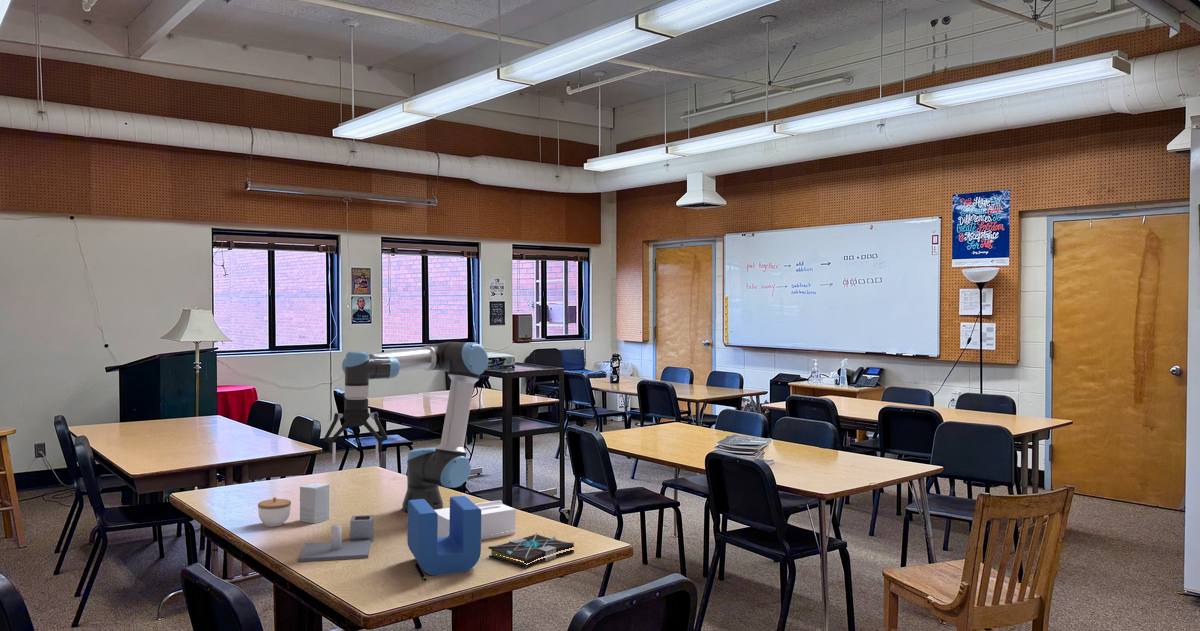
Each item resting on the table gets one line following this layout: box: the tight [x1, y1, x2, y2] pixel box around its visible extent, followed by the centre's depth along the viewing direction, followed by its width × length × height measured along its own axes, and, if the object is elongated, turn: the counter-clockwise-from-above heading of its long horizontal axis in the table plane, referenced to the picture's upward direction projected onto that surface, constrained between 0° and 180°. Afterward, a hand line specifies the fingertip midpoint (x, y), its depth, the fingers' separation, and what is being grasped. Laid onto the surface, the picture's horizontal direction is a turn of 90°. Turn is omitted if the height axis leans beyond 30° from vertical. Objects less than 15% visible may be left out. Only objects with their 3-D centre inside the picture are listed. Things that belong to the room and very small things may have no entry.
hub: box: [349, 514, 375, 543], centre depth 260 cm, size 7×7×7 cm
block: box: [406, 495, 482, 576], centre depth 234 cm, size 18×18×18 cm
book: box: [487, 532, 575, 569], centre depth 245 cm, size 22×17×5 cm
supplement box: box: [299, 482, 330, 524], centre depth 283 cm, size 7×7×13 cm
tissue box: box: [435, 499, 517, 541], centre depth 267 cm, size 14×25×11 cm, turn 127°
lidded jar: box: [257, 497, 292, 528], centre depth 277 cm, size 11×11×9 cm
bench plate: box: [297, 524, 372, 563], centre depth 245 cm, size 20×16×8 cm
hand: (355, 462), depth 261 cm, fingers open, 13 cm apart
